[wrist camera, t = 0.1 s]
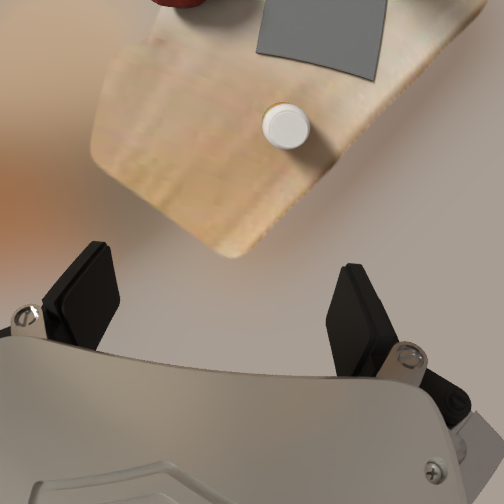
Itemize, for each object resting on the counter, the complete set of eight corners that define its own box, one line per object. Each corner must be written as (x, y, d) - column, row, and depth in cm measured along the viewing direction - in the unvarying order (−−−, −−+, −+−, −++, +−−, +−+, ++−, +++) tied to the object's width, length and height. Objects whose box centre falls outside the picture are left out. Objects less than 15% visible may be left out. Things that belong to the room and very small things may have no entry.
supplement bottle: (310, 116, 36) (325, 123, 27) (288, 148, 38) (296, 164, 30) (275, 94, 34) (281, 94, 26) (254, 127, 37) (252, 137, 28)
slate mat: (278, -60, 21) (278, -61, 21) (387, -30, 22) (389, -31, 22) (255, 52, 31) (255, 52, 31) (371, 80, 32) (373, 80, 32)
